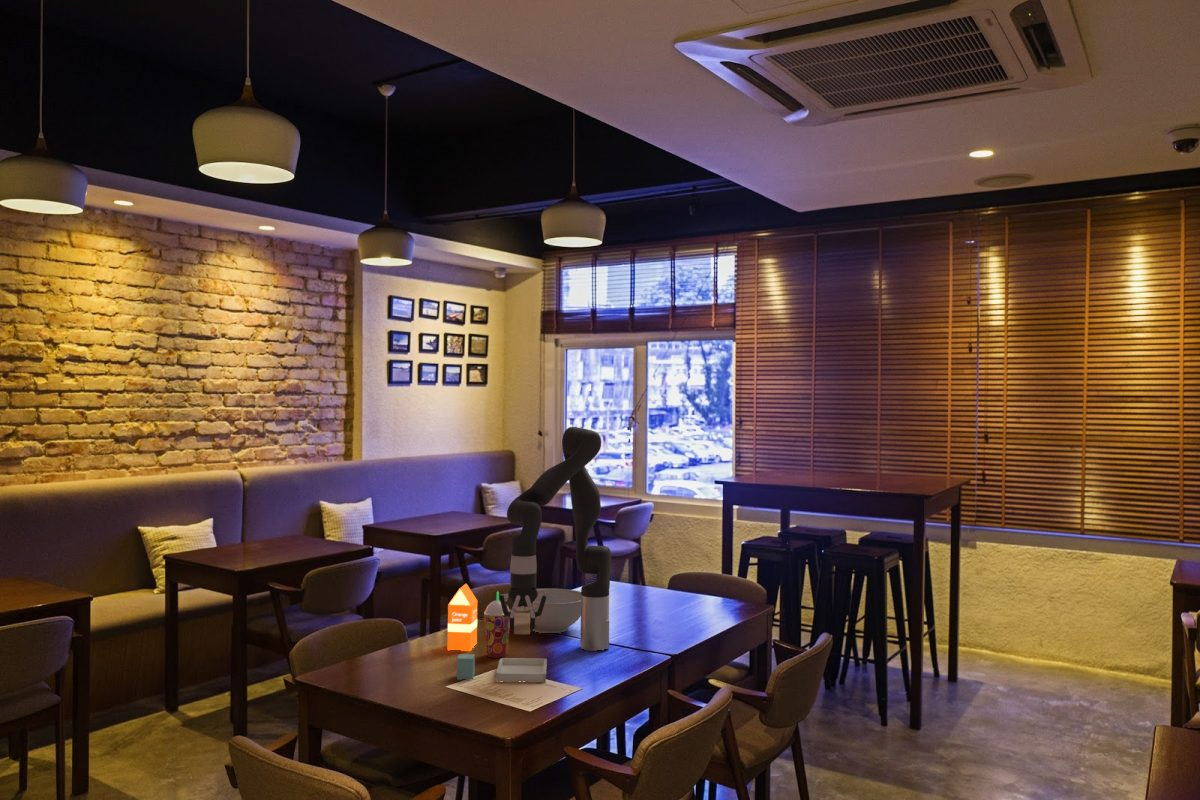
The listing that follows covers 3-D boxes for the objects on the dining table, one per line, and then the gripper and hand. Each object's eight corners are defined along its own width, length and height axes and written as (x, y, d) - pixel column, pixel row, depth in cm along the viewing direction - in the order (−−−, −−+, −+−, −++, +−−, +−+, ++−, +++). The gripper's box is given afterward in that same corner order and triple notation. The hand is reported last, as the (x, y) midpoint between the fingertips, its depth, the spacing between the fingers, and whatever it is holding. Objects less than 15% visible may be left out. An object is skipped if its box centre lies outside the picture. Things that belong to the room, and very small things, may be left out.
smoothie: (494, 650, 282) (495, 588, 282) (515, 654, 278) (516, 591, 278) (477, 656, 275) (479, 592, 275) (499, 660, 270) (500, 595, 271)
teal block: (474, 675, 255) (474, 654, 255) (472, 679, 251) (473, 658, 251) (458, 675, 255) (459, 654, 255) (456, 679, 251) (457, 658, 251)
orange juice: (477, 644, 290) (478, 583, 290) (470, 651, 281) (471, 588, 281) (453, 643, 290) (455, 582, 291) (446, 650, 282) (447, 587, 282)
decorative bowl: (499, 635, 302) (500, 600, 302) (528, 619, 327) (529, 586, 328) (573, 642, 294) (574, 606, 294) (597, 624, 320) (597, 591, 320)
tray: (546, 666, 265) (546, 658, 265) (545, 682, 249) (545, 673, 249) (500, 666, 264) (500, 658, 264) (495, 682, 248) (495, 673, 248)
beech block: (529, 634, 251) (530, 613, 251) (514, 634, 250) (514, 612, 251) (530, 630, 255) (530, 609, 255) (514, 630, 255) (515, 609, 255)
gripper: (497, 572, 249) (496, 633, 249) (548, 573, 250) (547, 633, 249) (499, 568, 257) (498, 627, 256) (548, 568, 257) (547, 627, 257)
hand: (522, 630), depth 253 cm, fingers closed on beech block, 4 cm apart
